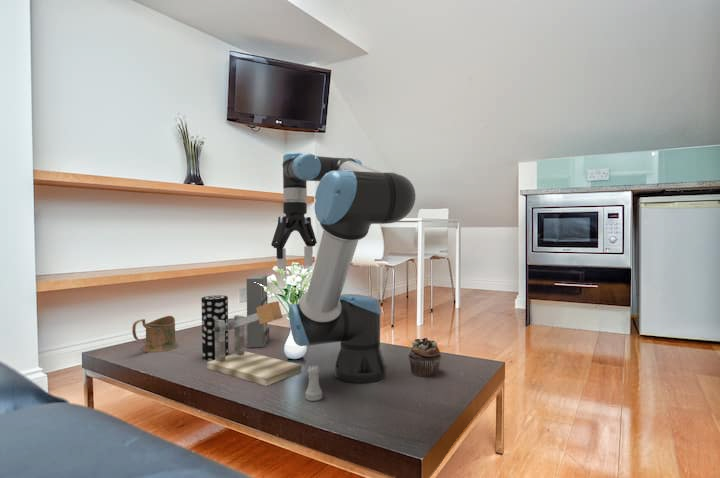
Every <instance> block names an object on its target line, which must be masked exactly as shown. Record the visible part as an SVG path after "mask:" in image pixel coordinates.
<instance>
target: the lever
mask: <svg viewBox="0 0 720 478" xmlns="http://www.w3.org/2000/svg"><path fill="white" fill-rule="evenodd" d="M256 310H257V313H255V314H252V315H249V316H247V315H246V316H244V318H241V319H238V320H235V321H234V320H233V321H228V323H225V331H228V332H229V331H231V330H234V329H235V328H237V327H240V326H243V325H244V326H245V325H246V326H247V324H249V323H252V322H255V321H258V320H259V322H260V324H263V323H267V324H268V323H271V322H274V321H277V320H280V319H282V318H283V314H282V310H281V307H280V302H279V301H278V300H277V301H271V302H268V304H265V305H262V306H259V307H257V308H256Z"/></svg>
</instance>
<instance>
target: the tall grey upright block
mask: <svg viewBox="0 0 720 478" xmlns="http://www.w3.org/2000/svg"><path fill="white" fill-rule="evenodd" d="M254 282H256V283H254ZM257 283H259V284H262V285H264V286H266V287H267V288H268V275H267V273H266V274H264V273H263V274H252V275H251V276H249V277H247V278H246V316H249V315H252V314H255V313H257V310H256V308H257V307H259V306H262V305H265V304H268V303H269V302H268V301H269V300H268V291H267V292H265V291H264V288H263V287H262V286H260V285H259V284H257ZM246 331H247V332H246V335H247V336H246V338H247V339H246V341H247V343H246V347H247V348H250V349H251V348H264V347H265V345H266V343H267V342H268V340H269V338H270V327H268V322H267V323H263V324H260V322H259V320H258V321H255V322H252V323H249V324H246Z"/></svg>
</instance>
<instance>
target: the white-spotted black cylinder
mask: <svg viewBox="0 0 720 478" xmlns="http://www.w3.org/2000/svg"><path fill="white" fill-rule="evenodd" d="M215 320H224V321H225V323H229V298H228V296H227V295H222V294H221V295H208V296H207V295H206V296H202V297H201V341H202V342H201V344H202V345H201V348H202V349H201V353H202V354H201V355H202V357H201V358H202V360H204V361H208V362H209V361H212V360H215V331H214V327H215ZM229 349H230V348H229V330H228V331H225V356H229Z"/></svg>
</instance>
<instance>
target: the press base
mask: <svg viewBox="0 0 720 478" xmlns="http://www.w3.org/2000/svg"><path fill="white" fill-rule="evenodd" d="M244 317H245V316H244V315H234V316H233V321H235V320H238V319H241V318H244ZM214 331H215V360H212V361H209V360H208V361H207V362H206V366H207V367H206V369H207V370H211V371H215V372H218V373H221V374H225V375H228V376H231V377H235V378H238V379H241V380H245V381H248V382H252V383H255V384H258V385H262V386H264V387H268V386H270V385H273V384H274V383H278V382H280V381H282V380H284V379H287V378H290V377H292V376H294V375H296V374H299V373H302V364H300V363H295V362H292V361H287V360H283V359H278V358H274V357H269V356H265V355H262V354H257V353H253V352H250V351H249V352H248V351H245V325H243V326H240V327H237V328H235V329H233V331H234V333H233V334H234V336H233V337H234V353H232V354H230V355H229V356H225V321H224V320H215V327H214Z"/></svg>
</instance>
